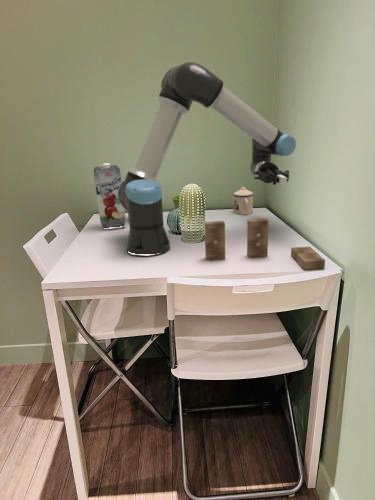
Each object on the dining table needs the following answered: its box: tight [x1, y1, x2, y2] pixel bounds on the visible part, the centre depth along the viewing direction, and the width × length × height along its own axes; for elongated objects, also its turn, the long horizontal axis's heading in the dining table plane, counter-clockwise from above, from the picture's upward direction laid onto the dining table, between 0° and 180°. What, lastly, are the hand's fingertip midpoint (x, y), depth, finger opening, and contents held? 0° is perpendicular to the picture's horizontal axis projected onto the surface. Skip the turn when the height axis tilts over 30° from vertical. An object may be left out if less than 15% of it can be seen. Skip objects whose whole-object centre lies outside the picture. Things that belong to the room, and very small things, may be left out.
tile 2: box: [246, 218, 270, 259], centre depth 116 cm, size 6×3×12 cm, turn 93°
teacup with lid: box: [232, 186, 254, 215], centre depth 169 cm, size 12×9×12 cm
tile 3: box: [290, 246, 326, 271], centre depth 112 cm, size 6×3×12 cm
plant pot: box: [171, 195, 180, 210], centre depth 170 cm, size 9×9×9 cm
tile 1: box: [204, 220, 226, 261], centre depth 116 cm, size 6×3×12 cm, turn 93°
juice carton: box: [93, 162, 126, 229], centre depth 154 cm, size 9×10×27 cm
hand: (284, 181), depth 119 cm, fingers closed
